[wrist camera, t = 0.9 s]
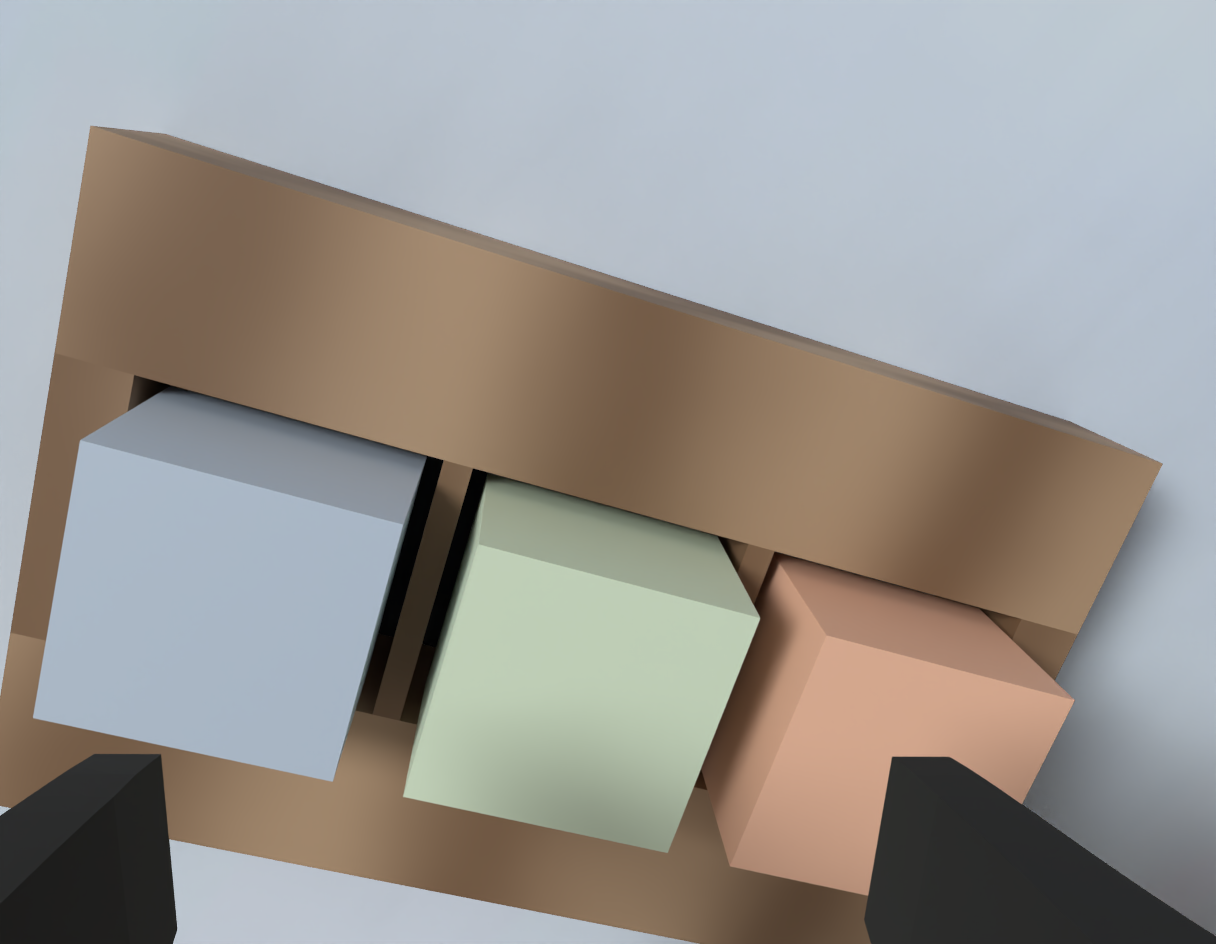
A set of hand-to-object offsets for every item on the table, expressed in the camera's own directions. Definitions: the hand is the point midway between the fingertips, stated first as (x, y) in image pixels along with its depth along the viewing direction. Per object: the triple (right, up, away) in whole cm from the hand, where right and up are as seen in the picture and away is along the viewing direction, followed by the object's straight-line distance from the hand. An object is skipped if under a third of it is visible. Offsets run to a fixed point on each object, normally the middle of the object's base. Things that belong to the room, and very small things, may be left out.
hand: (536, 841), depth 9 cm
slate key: (-5, +2, +7) cm, 9 cm away
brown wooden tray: (0, +2, +10) cm, 11 cm away
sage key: (0, +1, +8) cm, 8 cm away
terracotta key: (+5, 0, +9) cm, 11 cm away
